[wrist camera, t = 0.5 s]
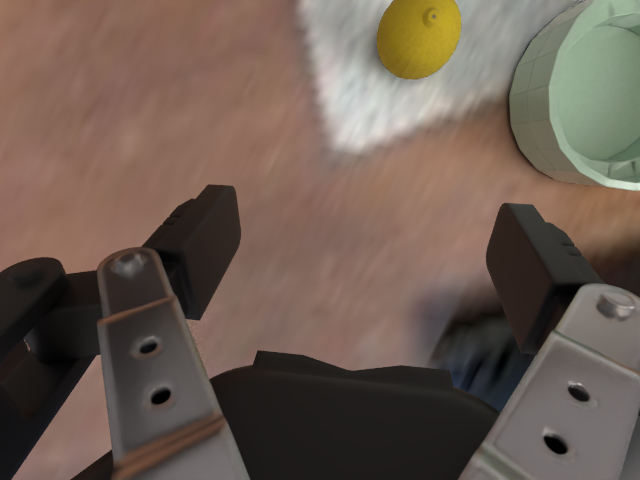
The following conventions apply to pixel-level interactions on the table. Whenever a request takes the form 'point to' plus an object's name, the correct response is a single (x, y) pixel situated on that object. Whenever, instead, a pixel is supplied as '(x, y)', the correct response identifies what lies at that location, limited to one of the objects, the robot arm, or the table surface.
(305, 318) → the table surface
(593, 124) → the bowl
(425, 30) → the lemon
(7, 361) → the sunglasses
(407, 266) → the table surface
